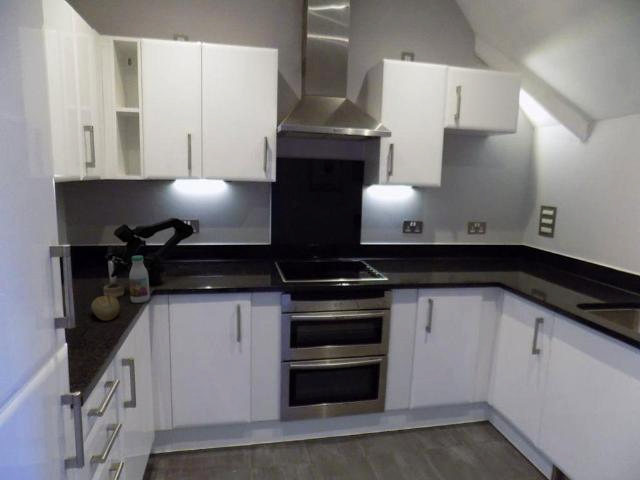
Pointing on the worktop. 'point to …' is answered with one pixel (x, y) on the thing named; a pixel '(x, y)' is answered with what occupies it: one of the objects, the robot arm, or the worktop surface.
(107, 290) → the tan tape roll
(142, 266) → the milk bottle
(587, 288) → the worktop surface
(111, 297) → the bread roll
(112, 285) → the steel peg
